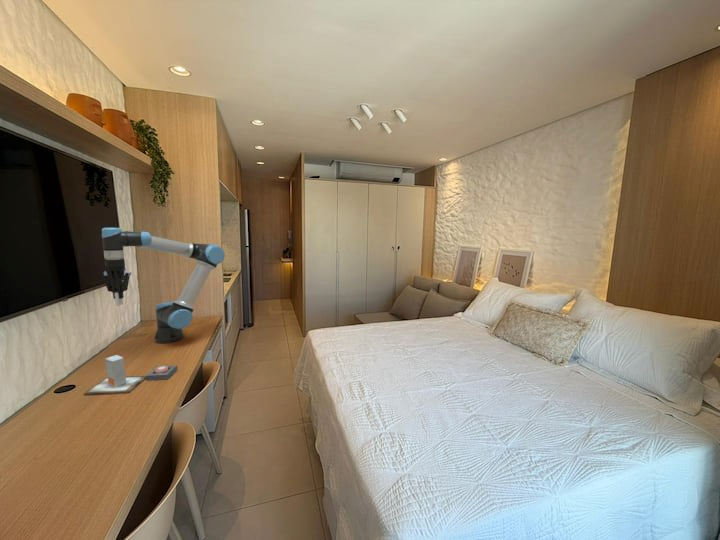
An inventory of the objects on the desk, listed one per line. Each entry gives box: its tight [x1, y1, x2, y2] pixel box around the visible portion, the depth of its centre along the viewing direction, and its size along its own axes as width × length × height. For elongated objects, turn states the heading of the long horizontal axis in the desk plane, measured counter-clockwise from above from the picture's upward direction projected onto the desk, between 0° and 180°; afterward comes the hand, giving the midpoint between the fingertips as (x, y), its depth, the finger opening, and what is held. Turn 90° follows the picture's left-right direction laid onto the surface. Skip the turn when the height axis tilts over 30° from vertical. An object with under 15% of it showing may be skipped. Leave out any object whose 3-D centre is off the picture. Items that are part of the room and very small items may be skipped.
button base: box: [145, 365, 178, 382], centre depth 134 cm, size 9×9×2 cm
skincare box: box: [105, 354, 127, 387], centre depth 124 cm, size 6×4×12 cm
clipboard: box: [83, 375, 146, 396], centre depth 125 cm, size 13×17×1 cm
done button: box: [155, 365, 169, 373], centre depth 134 cm, size 5×5×3 cm
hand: (119, 304), depth 145 cm, fingers closed
